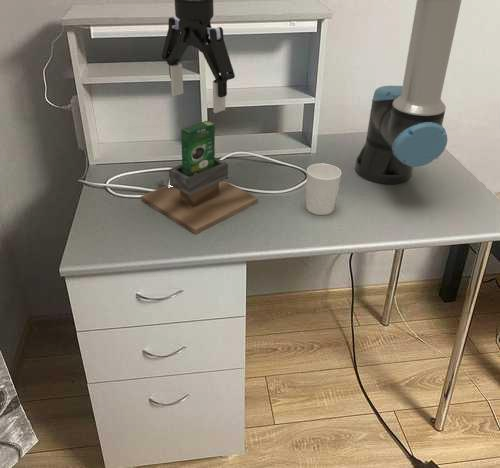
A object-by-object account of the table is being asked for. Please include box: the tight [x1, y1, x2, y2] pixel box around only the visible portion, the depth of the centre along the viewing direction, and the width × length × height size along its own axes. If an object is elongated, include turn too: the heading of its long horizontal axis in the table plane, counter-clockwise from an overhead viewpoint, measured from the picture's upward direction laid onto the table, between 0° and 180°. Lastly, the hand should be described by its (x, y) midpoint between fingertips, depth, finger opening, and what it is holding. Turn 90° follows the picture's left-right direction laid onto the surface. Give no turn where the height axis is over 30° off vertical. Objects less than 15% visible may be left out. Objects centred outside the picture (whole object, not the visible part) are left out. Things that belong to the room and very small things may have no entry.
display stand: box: [140, 157, 259, 235], centre depth 125 cm, size 20×20×10 cm
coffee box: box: [180, 120, 216, 177], centre depth 120 cm, size 8×3×13 cm, turn 135°
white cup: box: [305, 163, 342, 216], centre depth 124 cm, size 8×8×10 cm
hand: (197, 102), depth 114 cm, fingers open, 13 cm apart
